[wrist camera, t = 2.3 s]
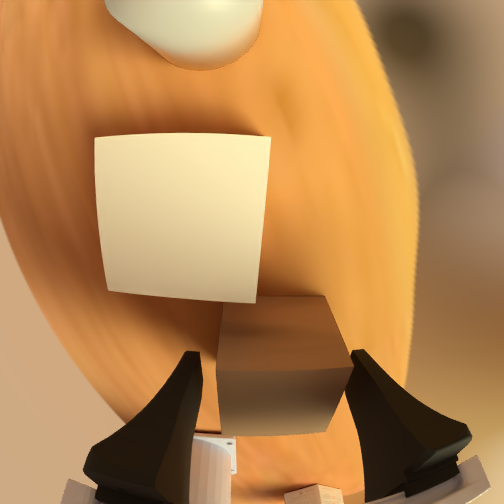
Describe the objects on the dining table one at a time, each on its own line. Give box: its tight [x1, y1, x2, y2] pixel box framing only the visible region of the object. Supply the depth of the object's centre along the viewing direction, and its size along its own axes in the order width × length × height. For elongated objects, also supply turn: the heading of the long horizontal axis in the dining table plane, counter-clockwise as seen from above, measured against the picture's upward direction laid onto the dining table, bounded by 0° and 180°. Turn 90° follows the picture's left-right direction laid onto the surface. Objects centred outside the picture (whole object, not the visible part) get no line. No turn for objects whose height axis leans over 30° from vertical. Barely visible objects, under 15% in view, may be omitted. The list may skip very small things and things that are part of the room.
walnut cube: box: [216, 296, 354, 436], centre depth 12 cm, size 5×5×5 cm
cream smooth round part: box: [104, 0, 263, 71], centre depth 6 cm, size 4×4×5 cm
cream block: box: [95, 133, 271, 303], centre depth 11 cm, size 6×6×3 cm
